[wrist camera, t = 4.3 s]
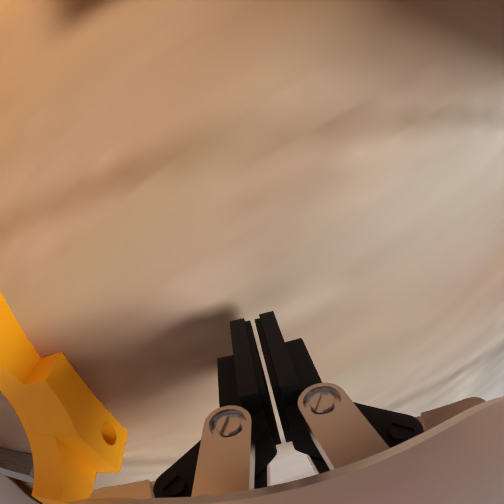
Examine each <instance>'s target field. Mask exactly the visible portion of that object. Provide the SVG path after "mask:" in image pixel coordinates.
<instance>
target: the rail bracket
mask: <svg viewBox="0 0 504 504" xmlns="http://www.w3.org/2000/svg"><path fill="white" fill-rule="evenodd" d="M0 474H3V475H6V476H9V477H12V478H15V479H19V480H22V481H26V482H30V483H33V484H34V463H33V456H32V454H27V453H22V452H17V451H13V450H8V449H4V448H0Z"/></svg>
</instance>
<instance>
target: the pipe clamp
mask: <svg viewBox="0 0 504 504" xmlns="http://www.w3.org/2000/svg"><path fill="white" fill-rule="evenodd" d="M0 391H1V392H2V393H3V395H4V396H5V397H6V398H7V400H8V401H9V402H10V404H11V405H12V407H13V408H14V410H15V412H16V413H17V415H18V417H19V419H20V421H21V423H22V425H23V427H24V430H25V432H26V435H27V438H28V440H29V444H30V447H31V452H32V456H33V463H34V485H33V491H32V496H33V497H34V498H36V499H37V500H39V501H40V502H42V503H43V504H66V503H69V502H73V501H77V500H83V499H88V498H89V496H90V495H91V493H92V491H93V486H94V482H95V477H96V473H117V472H120V469H121V464H122V459H123V454H124V449H125V444H126V439H127V434H128V432H127V431H126V430H125V429H124V428H123V426H122V425H121V424H120V423H119V422H118V421H117V420H116V419H115V418H114V417H113V416H112V415H111V414H110V412H109V411H108V410H107V409H106V408H105V407H104V406H103V404H102V403H101V402H100V401H99V400H98V399H97V397H96V396H95V395H94V394H93V393H92V391H91V390H90V389H89V388H88V386H87V385H86V384H85V383H84V381H83V380H82V379H81V377H80V376H79V375H78V374H77V372H76V371H75V370H74V368H73V367H72V366H71V364H70V363H69V361H68V360H67V359H66V357H65V356H64V354H63V353H62V352H59V353H56V354H52V355H49V356H45V357H42V358H41V357H40V356H39V354H38V353H37V352H36V350H35V349H34V347H33V346H32V344H31V343H30V341H29V340H28V338H27V337H26V335H25V333H24V332H23V330H22V329H21V327H20V325H19V324H18V322H17V320H16V319H15V317H14V315H13V314H12V312H11V310H10V308H9V307H8V305H7V303H6V301H5V299H4V297H3V296H2V294H1V292H0Z"/></svg>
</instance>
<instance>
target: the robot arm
mask: <svg viewBox="0 0 504 504" xmlns="http://www.w3.org/2000/svg"><path fill="white" fill-rule="evenodd" d="M259 316H260V318H259V319H255V323H256V327H257V331H258V335H259V339H260V343H261V347H262V351H263V355H264V359H265V363H266V367H267V371H268V375H269V379H270V383H271V386H272V390H273V394H274V398H275V402H276V406H277V409H278V413H279V417H280V421H281V425H282V428H283V432H284V436H285V440H286V442H290V441H292V442H293V446H294V448H295V450H297V451H299V452H302V453H304V454H307V457H308V460H309V461H310V463H311V465H312V467H313V469H314V471H315V472H316V474H317V475H314V476H311V477H307V478H303V479H299V480H295V481H291V482H287V483H283V484H278V485H274V486H270V465H269V463H270V462H271V460H272V459H273V458H274V457H275V456H276V455H277V454H276V453H277V449H276V445H277V444H281V440H280V436H279V432H278V428H277V424H276V420H275V416H274V412H273V408H272V404H271V400H270V396H269V391H268V387H267V383H266V379H265V375H264V371H263V367H262V364H261V360H260V356H259V352H258V349H257V345H256V341H255V337H254V333H253V330H252V326H251V322H250V321H246V322H245V320H244V318H243V319H238V320H234V321H230V328H231V337H232V346H233V355H231V356H226V357H222V358H218V359H217V365H218V386H219V404H220V408H218V409H216V410H214V411H213V412H212V413H210V414H209V416H208V417H207V418H206V420H205V423H204V427H203V432H202V438H201V440H200V441H199V442H198V443H197V444H196V445H195V446H194V447H193V448H191V449H190V450H189V451H188V452H187V453H186V454H185V455H184V456H182V457H181V458H180V459H179V460H178V461H177V462H176V463H174V464H173V465H172V466H171V467H170V468H169V469H167V470H166V471H165V472H164V473H163V474H161V475H160V476H159V478H158V479H157V480H156V481H153V482H150V481H149V480H144V481H139V482H134V483H129V484H123V485H117V486H111V487H104V488H100V489H96V490H95V491H94V492H92V493H91V495H90V496H89V498H88V499H83V500H77V501H73V502H69V503H66V504H504V397H500V398H495V399H492V400H489V401H485V400H483V399H481V398H478V397H471V398H466V399H464V400H461V401H458V402H455V403H452V404H449V405H446V406H443V407H440V408H436V409H433V410H429V411H426V412H422V413H421V415H420V416H418V417H413V416H410V415H407V414H402V413H397V412H392V411H388V410H383V409H379V408H375V407H370V406H366V405H362V404H358V403H354V402H352V400H351V399H350V398H349V396H348V395H347V394H346V393H345V391H344V390H343V389H342V388H340V387H339V386H337V385H335V384H332V383H322V381H321V379H320V377H319V375H318V373H317V370H316V368H315V366H314V364H313V362H312V359H311V357H310V355H309V353H308V351H307V349H306V346H305V344H304V342H303V340H302V339H301V338H299V339H296V340H292V341H288V342H284V339H283V337H282V334H281V331H280V329H279V326H278V323H277V320H276V318H275V315H274V312H273V311H271V312H267V313H263V314H259Z"/></svg>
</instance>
